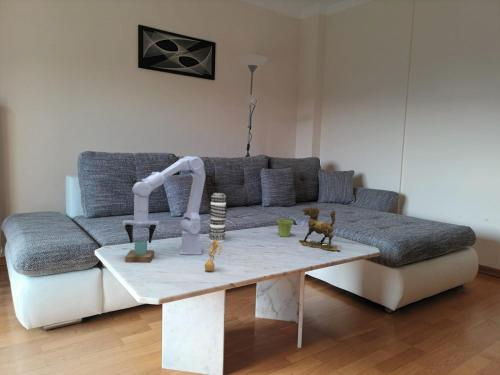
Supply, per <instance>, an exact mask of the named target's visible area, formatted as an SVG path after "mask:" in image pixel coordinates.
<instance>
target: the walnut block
mask: <svg viewBox="0 0 500 375" xmlns="http://www.w3.org/2000/svg"><path fill="white" fill-rule="evenodd" d="M154 257H155V250H154V249H149V250H148V249H147V253H146V255H135V249H130V250H129V252H128V253H127V254H126V255H125V260H124V261H125V263H129V264H130V263H131V264H132V263H135V264H136V263H139V264H140V263H142V264H143V263H145V264H146V263H148V264H150V263H151V262H152V260H153V259H154Z"/></svg>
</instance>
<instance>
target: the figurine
mask: <svg viewBox="0 0 500 375" xmlns="http://www.w3.org/2000/svg"><path fill="white" fill-rule="evenodd" d="M302 212H303V214H304V216H308V217H309V219H308V221H307V222H308V223H307V224H308V225H307V226H308V228H307V229H308V232H307V233H306V235H305V237H304V238H303V239H299V242H298V243H300V244H301V245H302V246H305V247H309V248H314V249H320V250H323V251H326V252H336V253H340V252H341V249H340V250H338V249H339V247H335V246H333V245H332V239H333V237H334V234H332V233H333V232H334V231H335V230H334V229H335V227H334V224H336V211H335V209H332V211H331V212H330V218H331V222H328V221H319V220H318V218H319V213H320V208H317V206H315V207H311V206H310V207H308V208H303V209H302ZM313 232H315V233H316V234H317V235H322V234H323V237H322V238H321V239H320V241H319V242H315V241H311V240H310V241H308V238H309V236H311V235H312V233H313ZM326 238H328V242H325V240H326ZM320 242H321V243H320ZM322 244H327V245H322Z"/></svg>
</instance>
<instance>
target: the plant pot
mask: <svg viewBox="0 0 500 375" xmlns="http://www.w3.org/2000/svg"><path fill="white" fill-rule="evenodd" d="M276 222H277V228H278V230H277V231H278V237H282V238H288V237H290V235H291V229H292V226H293V224H294V221H293V220H291V219H290V220H288V219H277V220H276Z"/></svg>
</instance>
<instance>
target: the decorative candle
mask: <svg viewBox="0 0 500 375" xmlns="http://www.w3.org/2000/svg"><path fill="white" fill-rule="evenodd" d="M226 197H227V196H226V195H225V193H224V192H223V193H222V192H214V193H212V195H211V196H210V200H211V201H210V203H209V208H210V209H209V213H208V214H209V215H210V216H209V219H210V223H209V233H208V238H209V239H208V240H209V242H212V243H213V241H217V242H219V243H222V242H225V241H226V233H225V232H226V229H227V228H226V219H227V216H226V215H227V213H226V212H227V211H228V210H227V207H228V206H226V205H227V202H226V200H227V199H226Z"/></svg>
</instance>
